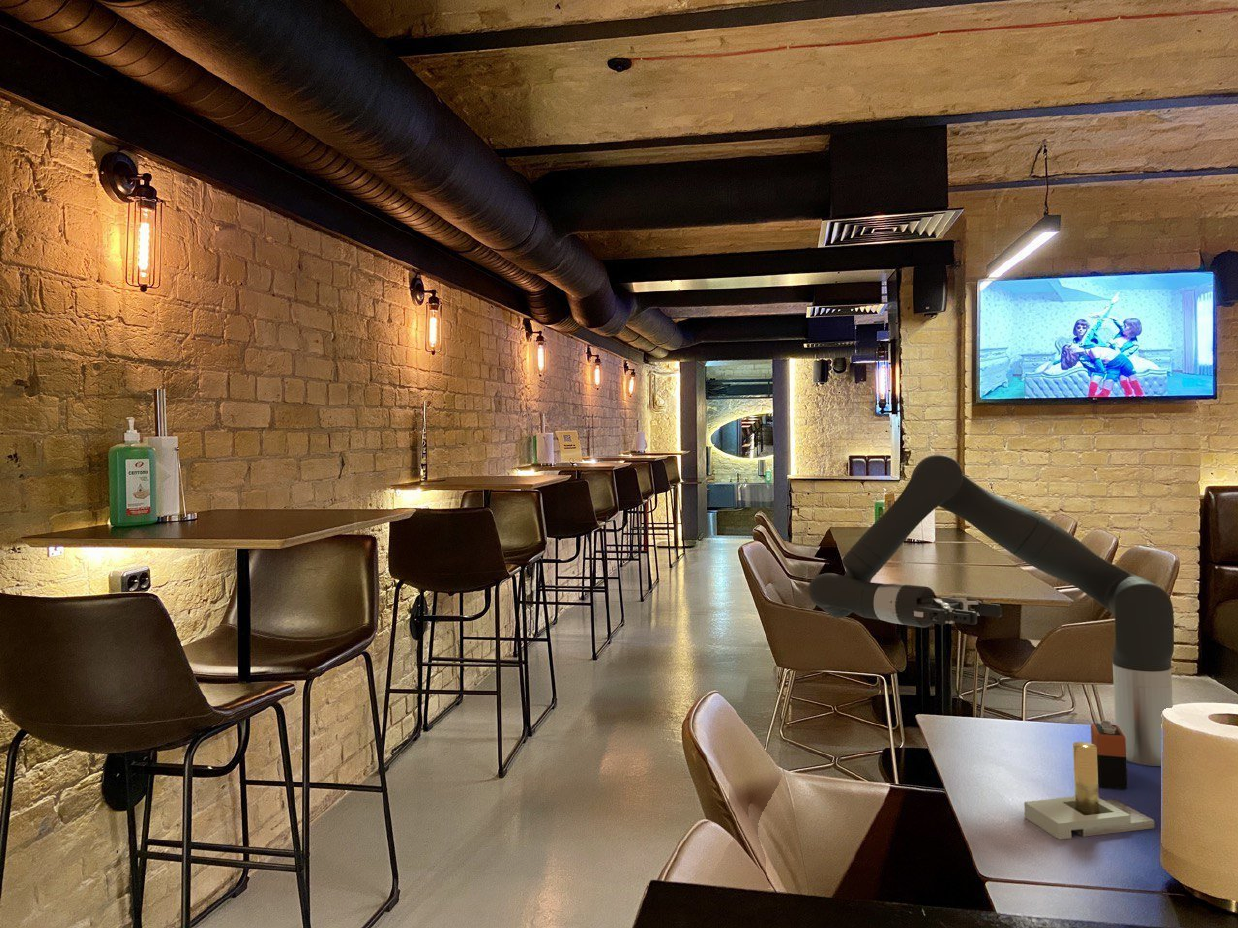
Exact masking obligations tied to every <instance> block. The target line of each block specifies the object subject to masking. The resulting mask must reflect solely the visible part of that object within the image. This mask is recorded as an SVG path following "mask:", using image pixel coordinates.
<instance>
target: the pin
mask: <svg viewBox="0 0 1238 928" xmlns="http://www.w3.org/2000/svg"><path fill="white" fill-rule="evenodd" d="M1072 750H1073V751H1072V755H1073V775H1074V777H1073V778H1074V781H1073V783H1074V796H1075V809H1076V811H1078V812H1080V813H1081V814H1083V815H1093V814H1099V798H1100V797H1099V785H1098V769H1097V746H1096V745H1094V744H1092V742H1086V741H1085V742H1084V741H1076V742H1074V743H1072Z"/></svg>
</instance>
